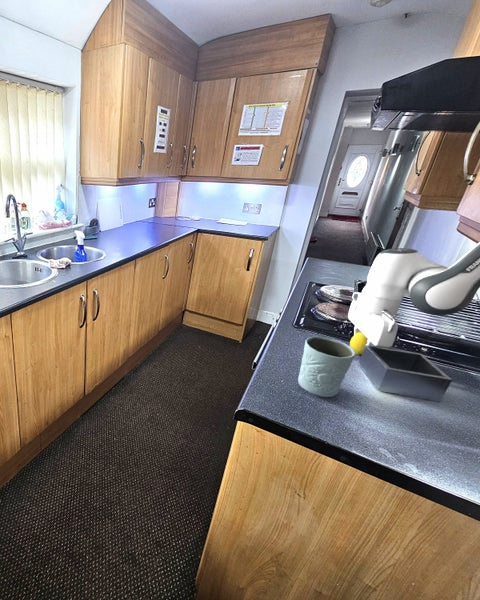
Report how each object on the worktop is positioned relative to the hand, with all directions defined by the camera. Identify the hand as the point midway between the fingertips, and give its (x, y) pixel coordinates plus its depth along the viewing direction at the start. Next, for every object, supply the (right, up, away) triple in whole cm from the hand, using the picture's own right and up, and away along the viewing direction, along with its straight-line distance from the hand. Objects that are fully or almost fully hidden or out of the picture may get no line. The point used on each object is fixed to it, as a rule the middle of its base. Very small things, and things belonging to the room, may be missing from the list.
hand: (361, 346), depth 99 cm
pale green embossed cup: (-24, -9, -14) cm, 29 cm away
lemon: (0, -3, +1) cm, 3 cm away
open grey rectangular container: (-1, -8, -11) cm, 14 cm away
